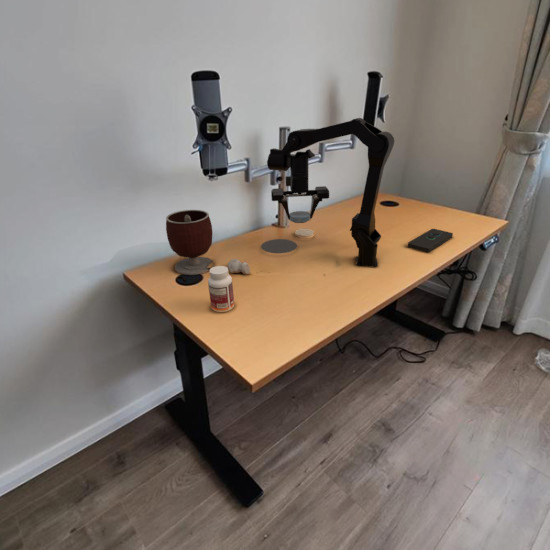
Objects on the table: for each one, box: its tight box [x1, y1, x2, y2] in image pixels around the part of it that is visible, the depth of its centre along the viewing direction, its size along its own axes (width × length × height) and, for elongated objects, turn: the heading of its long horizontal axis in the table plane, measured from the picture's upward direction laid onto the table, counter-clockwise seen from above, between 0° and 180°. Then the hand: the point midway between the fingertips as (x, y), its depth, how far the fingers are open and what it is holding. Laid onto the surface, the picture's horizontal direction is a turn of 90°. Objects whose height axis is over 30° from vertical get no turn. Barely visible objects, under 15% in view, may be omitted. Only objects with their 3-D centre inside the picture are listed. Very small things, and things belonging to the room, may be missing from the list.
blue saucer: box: [289, 210, 311, 224], centre depth 124 cm, size 7×7×2 cm
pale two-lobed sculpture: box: [226, 258, 251, 275], centre depth 114 cm, size 4×8×5 cm
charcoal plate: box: [260, 238, 298, 254], centre depth 131 cm, size 13×13×1 cm
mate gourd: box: [165, 209, 213, 276], centre depth 115 cm, size 16×14×20 cm
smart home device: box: [407, 228, 454, 254], centre depth 133 cm, size 8×2×20 cm
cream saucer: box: [294, 228, 315, 239], centre depth 140 cm, size 7×7×2 cm
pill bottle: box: [207, 265, 235, 313], centre depth 95 cm, size 6×6×11 cm
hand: (300, 218), depth 125 cm, fingers closed on blue saucer, 7 cm apart
